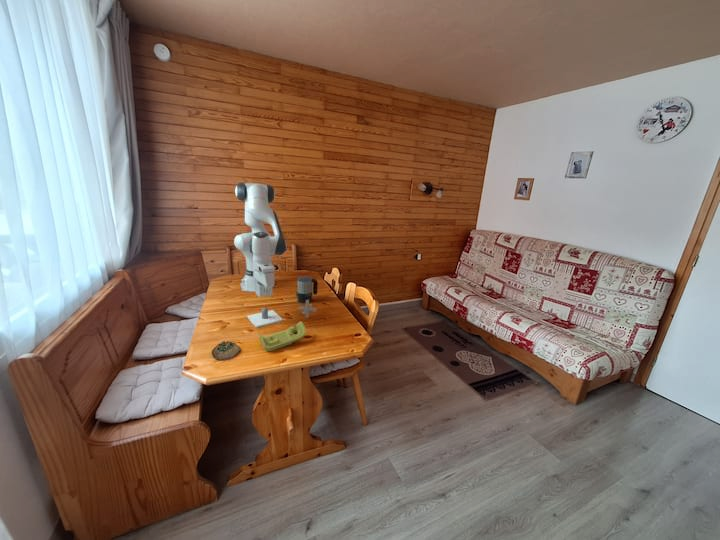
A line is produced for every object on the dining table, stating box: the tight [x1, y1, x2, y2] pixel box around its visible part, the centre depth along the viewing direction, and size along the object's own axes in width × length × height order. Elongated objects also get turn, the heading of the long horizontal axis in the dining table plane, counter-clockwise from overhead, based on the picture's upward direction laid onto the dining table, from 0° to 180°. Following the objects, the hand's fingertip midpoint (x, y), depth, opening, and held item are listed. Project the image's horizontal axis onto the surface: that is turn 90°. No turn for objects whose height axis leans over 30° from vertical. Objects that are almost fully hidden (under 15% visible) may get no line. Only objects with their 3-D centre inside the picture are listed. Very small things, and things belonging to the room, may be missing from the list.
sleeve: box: [254, 282, 274, 298], centre depth 143 cm, size 7×7×6 cm
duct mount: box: [247, 307, 284, 329], centre depth 147 cm, size 14×14×6 cm
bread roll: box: [211, 341, 241, 361], centre depth 117 cm, size 11×11×5 cm
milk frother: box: [295, 276, 319, 304], centre depth 176 cm, size 14×16×15 cm
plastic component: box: [258, 321, 307, 352], centre depth 127 cm, size 20×7×10 cm
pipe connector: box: [297, 300, 317, 319], centre depth 151 cm, size 10×10×10 cm
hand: (263, 290), depth 143 cm, fingers closed on sleeve, 7 cm apart
